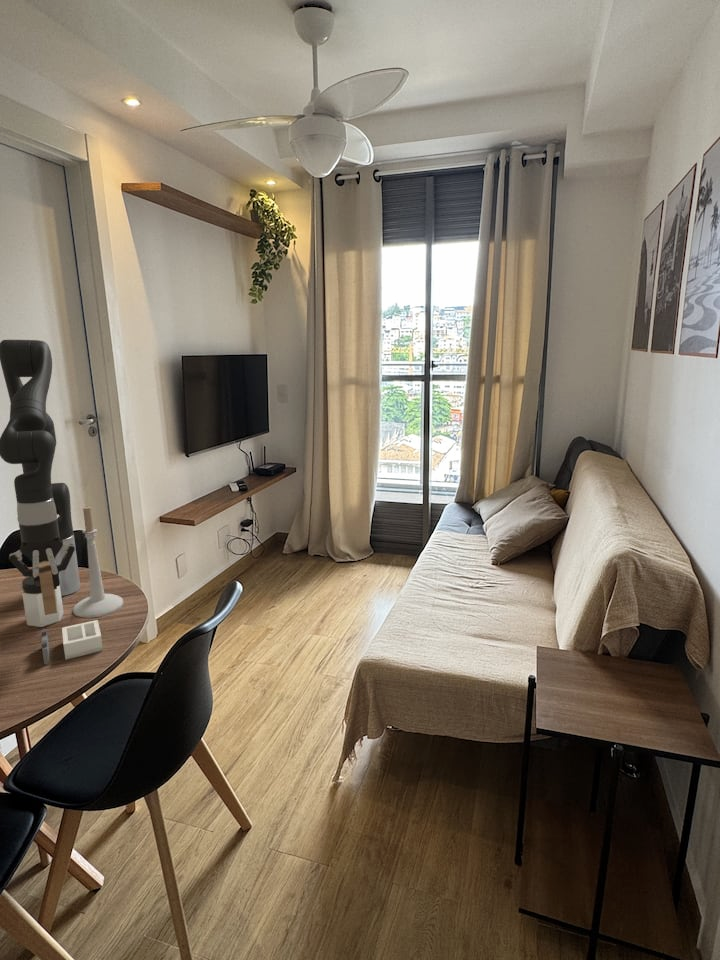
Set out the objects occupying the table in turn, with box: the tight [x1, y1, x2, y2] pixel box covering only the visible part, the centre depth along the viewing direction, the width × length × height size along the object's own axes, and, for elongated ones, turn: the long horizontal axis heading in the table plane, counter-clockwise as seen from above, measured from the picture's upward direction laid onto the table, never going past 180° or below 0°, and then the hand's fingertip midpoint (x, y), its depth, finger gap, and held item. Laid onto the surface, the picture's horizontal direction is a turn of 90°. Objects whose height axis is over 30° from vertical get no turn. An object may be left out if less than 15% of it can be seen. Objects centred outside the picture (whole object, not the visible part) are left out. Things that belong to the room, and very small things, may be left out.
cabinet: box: [40, 619, 104, 666], centre depth 129 cm, size 9×12×5 cm
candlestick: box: [72, 506, 124, 619], centre depth 147 cm, size 13×13×30 cm
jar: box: [21, 576, 64, 628], centre depth 142 cm, size 9×8×12 cm
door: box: [35, 561, 57, 615], centre depth 124 cm, size 8×3×10 cm, turn 31°
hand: (47, 589), depth 124 cm, fingers closed on door, 2 cm apart
